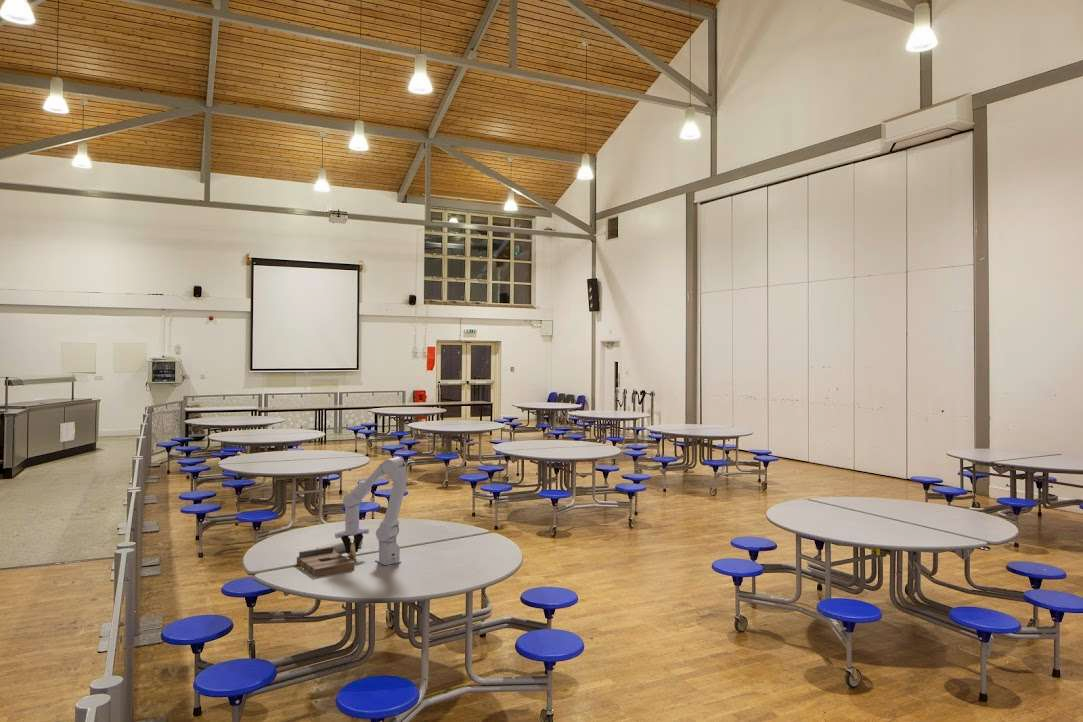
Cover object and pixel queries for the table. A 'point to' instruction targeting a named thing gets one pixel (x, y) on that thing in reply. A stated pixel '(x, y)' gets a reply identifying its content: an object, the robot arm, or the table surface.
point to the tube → (338, 545)
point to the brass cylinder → (352, 550)
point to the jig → (324, 561)
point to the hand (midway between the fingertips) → (351, 552)
